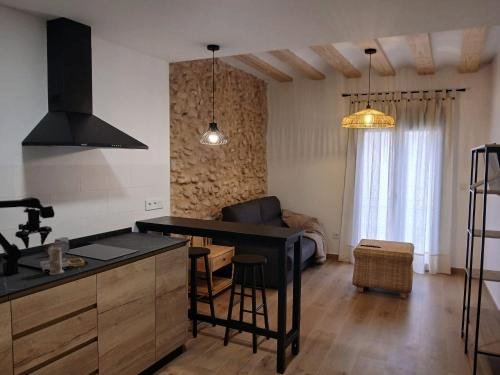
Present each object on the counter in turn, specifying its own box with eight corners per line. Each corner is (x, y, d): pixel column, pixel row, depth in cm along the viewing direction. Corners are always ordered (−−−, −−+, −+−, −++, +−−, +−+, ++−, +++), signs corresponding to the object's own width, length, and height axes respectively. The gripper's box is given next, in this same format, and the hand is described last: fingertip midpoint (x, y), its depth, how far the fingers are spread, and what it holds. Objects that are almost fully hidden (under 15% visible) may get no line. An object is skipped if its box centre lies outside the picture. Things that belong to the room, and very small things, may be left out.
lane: (42, 271, 215) (42, 266, 215) (40, 266, 223) (40, 261, 223) (69, 267, 223) (68, 262, 223) (65, 263, 231) (65, 258, 231)
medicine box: (63, 249, 263) (63, 236, 262) (69, 249, 262) (68, 237, 261) (54, 252, 255) (54, 239, 255) (60, 252, 254) (59, 239, 253)
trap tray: (70, 267, 223) (69, 264, 223) (66, 263, 231) (66, 259, 231) (84, 265, 228) (84, 262, 228) (80, 261, 236) (80, 258, 236)
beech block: (50, 272, 211) (49, 249, 210) (52, 270, 216) (51, 247, 215) (60, 272, 212) (59, 249, 211) (62, 269, 217) (61, 247, 216)
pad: (50, 275, 209) (50, 274, 209) (48, 271, 215) (48, 270, 215) (64, 272, 213) (64, 271, 213) (62, 269, 219) (62, 268, 219)
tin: (68, 252, 256) (68, 239, 255) (70, 253, 254) (70, 240, 253) (44, 256, 244) (44, 243, 243) (46, 257, 242) (46, 244, 241)
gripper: (39, 215, 229) (40, 241, 230) (8, 220, 212) (9, 248, 213) (52, 217, 224) (53, 243, 225) (21, 222, 207) (22, 251, 209)
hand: (34, 246), depth 218 cm, fingers open, 9 cm apart
